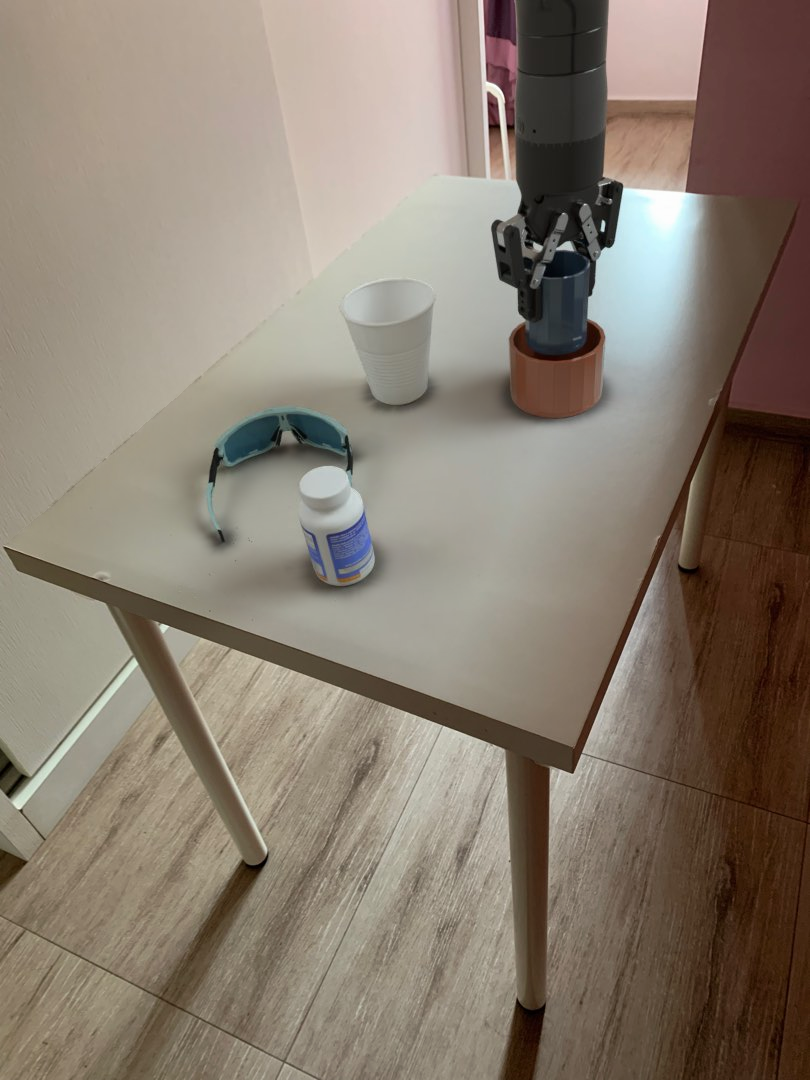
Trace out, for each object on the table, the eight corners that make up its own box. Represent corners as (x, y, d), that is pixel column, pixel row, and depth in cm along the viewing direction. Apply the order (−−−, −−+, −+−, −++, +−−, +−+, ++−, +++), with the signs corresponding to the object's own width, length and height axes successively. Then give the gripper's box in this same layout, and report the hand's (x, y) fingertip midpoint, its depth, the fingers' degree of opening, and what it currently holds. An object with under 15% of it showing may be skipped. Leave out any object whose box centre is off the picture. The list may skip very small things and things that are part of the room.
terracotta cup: (620, 391, 85) (625, 336, 80) (552, 429, 81) (553, 374, 77) (558, 357, 91) (559, 304, 86) (492, 391, 87) (490, 338, 83)
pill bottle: (383, 547, 72) (366, 462, 65) (364, 592, 68) (345, 506, 62) (326, 540, 73) (304, 456, 67) (305, 584, 70) (280, 499, 63)
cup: (461, 377, 90) (453, 285, 82) (414, 426, 84) (402, 332, 77) (387, 359, 95) (373, 270, 87) (338, 405, 89) (319, 314, 81)
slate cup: (599, 338, 81) (603, 262, 75) (554, 362, 79) (555, 285, 73) (557, 318, 85) (559, 244, 79) (513, 339, 83) (511, 265, 77)
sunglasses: (358, 434, 84) (350, 398, 80) (355, 546, 75) (346, 512, 71) (226, 446, 85) (212, 411, 82) (207, 558, 76) (190, 525, 72)
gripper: (523, 159, 63) (526, 349, 74) (655, 107, 68) (638, 293, 79) (464, 139, 68) (475, 321, 79) (591, 92, 72) (584, 269, 84)
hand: (557, 306), depth 79 cm, fingers closed on slate cup, 6 cm apart
